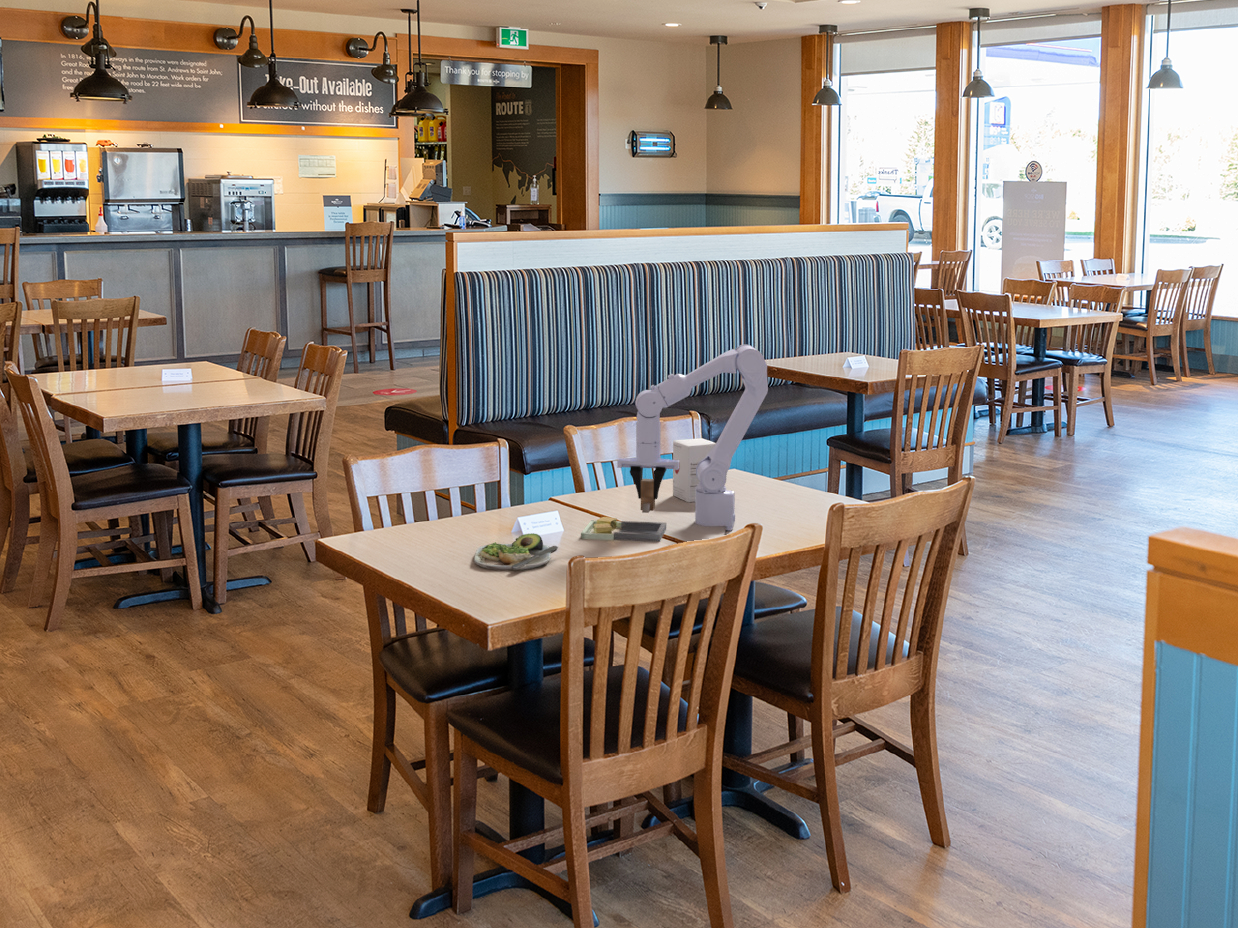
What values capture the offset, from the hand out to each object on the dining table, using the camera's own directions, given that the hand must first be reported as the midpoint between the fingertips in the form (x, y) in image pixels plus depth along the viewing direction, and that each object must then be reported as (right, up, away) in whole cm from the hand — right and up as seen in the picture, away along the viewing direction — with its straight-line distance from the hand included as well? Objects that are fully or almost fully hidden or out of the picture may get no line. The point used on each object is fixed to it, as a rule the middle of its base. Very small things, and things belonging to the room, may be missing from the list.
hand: (648, 498), depth 291 cm
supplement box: (+13, -1, +31) cm, 34 cm away
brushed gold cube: (-10, -7, -4) cm, 13 cm away
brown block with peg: (0, -3, 0) cm, 3 cm away
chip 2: (-11, -8, -10) cm, 17 cm away
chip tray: (-11, -9, -7) cm, 16 cm away
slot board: (-2, -9, -8) cm, 13 cm away
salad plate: (-30, -13, -24) cm, 41 cm away
